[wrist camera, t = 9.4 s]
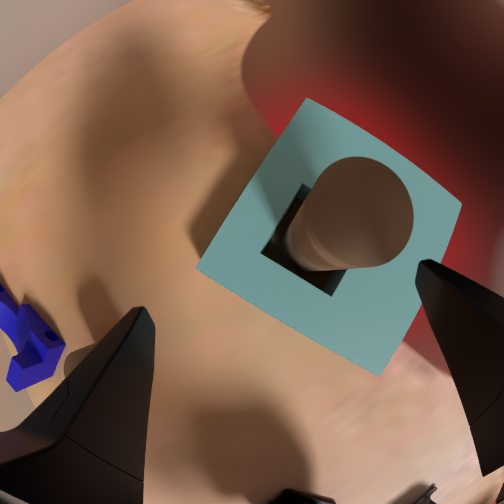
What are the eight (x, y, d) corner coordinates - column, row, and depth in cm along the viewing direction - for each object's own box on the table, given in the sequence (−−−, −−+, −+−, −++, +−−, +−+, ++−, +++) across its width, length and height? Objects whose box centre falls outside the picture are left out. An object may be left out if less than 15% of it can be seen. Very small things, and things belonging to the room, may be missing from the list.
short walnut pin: (151, 353, 22) (119, 376, 16) (132, 388, 22) (99, 415, 16) (113, 325, 22) (74, 338, 16) (96, 360, 22) (58, 379, 16)
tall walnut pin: (344, 248, 22) (431, 220, 9) (305, 282, 22) (360, 291, 9) (311, 208, 22) (364, 137, 10) (271, 241, 22) (285, 200, 10)
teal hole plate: (439, 212, 22) (462, 203, 18) (363, 363, 21) (379, 376, 18) (301, 119, 23) (306, 97, 19) (205, 269, 22) (195, 268, 19)
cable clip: (67, 343, 22) (26, 356, 16) (53, 375, 22) (16, 392, 16) (3, 269, 23) (-36, 267, 17) (-8, 301, 23) (-44, 303, 17)
